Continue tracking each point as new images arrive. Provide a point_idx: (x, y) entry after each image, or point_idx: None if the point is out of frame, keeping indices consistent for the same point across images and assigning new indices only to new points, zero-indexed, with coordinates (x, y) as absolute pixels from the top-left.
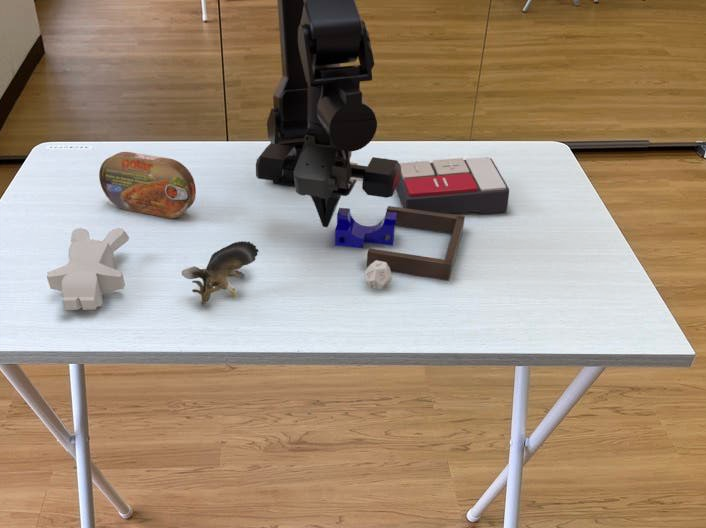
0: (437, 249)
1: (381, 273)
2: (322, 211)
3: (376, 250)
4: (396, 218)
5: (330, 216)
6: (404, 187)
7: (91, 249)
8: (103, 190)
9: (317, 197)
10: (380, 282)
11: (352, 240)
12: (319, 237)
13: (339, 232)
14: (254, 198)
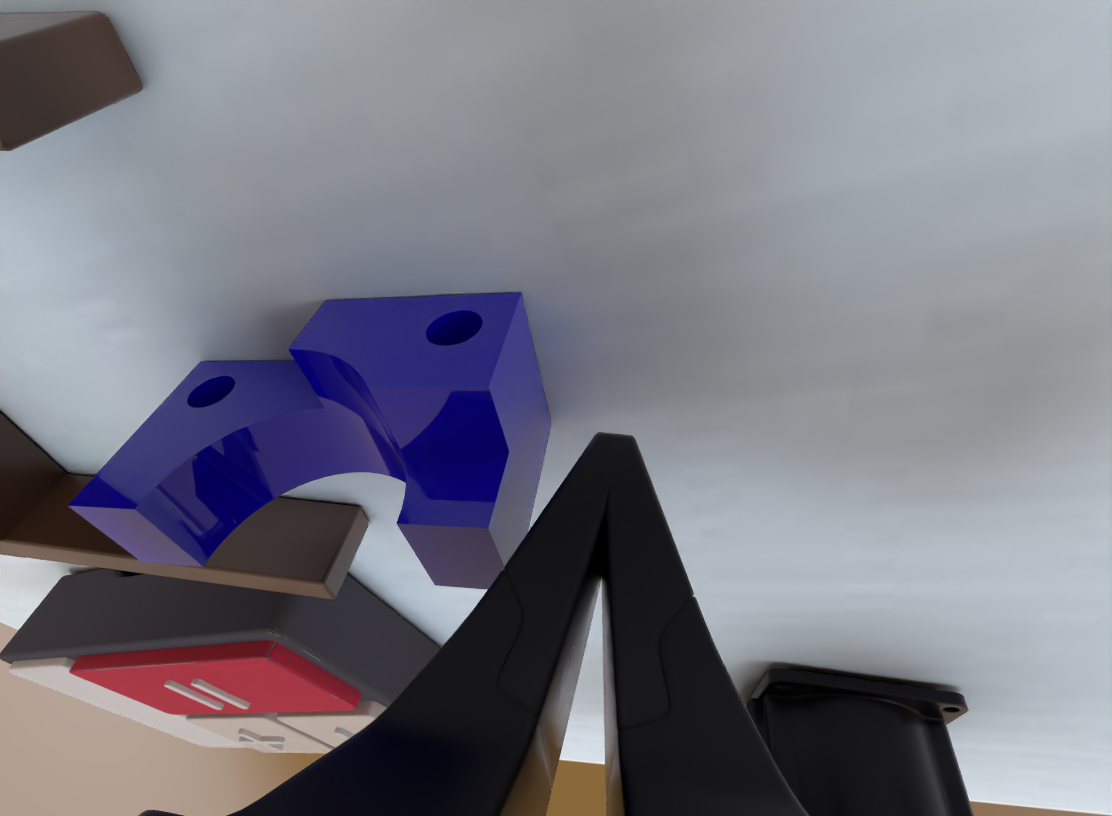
0: (2, 365)
1: None
2: (623, 553)
3: None
4: (293, 534)
5: (550, 509)
6: (342, 677)
7: None
8: None
9: (670, 736)
10: None
11: (375, 331)
12: (661, 367)
13: (456, 370)
14: (1102, 629)
